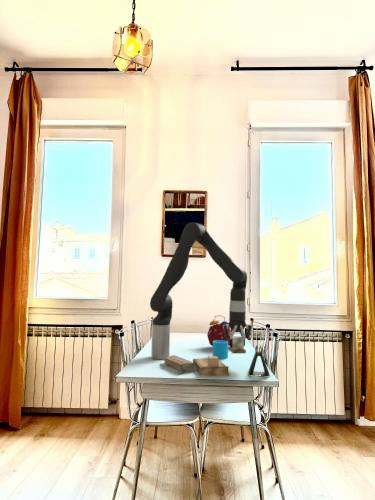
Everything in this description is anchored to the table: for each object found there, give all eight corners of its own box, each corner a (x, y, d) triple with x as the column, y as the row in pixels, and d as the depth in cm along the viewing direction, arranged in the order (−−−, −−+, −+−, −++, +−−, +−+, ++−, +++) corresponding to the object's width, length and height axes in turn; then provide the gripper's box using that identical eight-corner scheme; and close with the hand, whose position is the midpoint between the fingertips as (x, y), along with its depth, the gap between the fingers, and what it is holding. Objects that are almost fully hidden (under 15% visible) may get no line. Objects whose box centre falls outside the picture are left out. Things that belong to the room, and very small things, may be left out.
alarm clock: (232, 349, 201) (232, 315, 202) (223, 351, 194) (223, 316, 196) (213, 345, 211) (213, 313, 213) (204, 347, 204) (204, 314, 206)
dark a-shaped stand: (268, 373, 150) (268, 345, 151) (269, 376, 144) (269, 348, 146) (248, 371, 152) (248, 344, 153) (248, 375, 146) (248, 347, 147)
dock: (201, 376, 144) (201, 367, 144) (192, 365, 162) (192, 357, 163) (228, 375, 146) (228, 366, 146) (216, 364, 164) (216, 356, 165)
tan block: (233, 353, 152) (233, 338, 153) (227, 349, 160) (228, 335, 161) (245, 353, 153) (245, 338, 154) (239, 349, 161) (240, 335, 162)
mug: (226, 359, 175) (226, 343, 176) (211, 358, 178) (211, 342, 178) (230, 354, 187) (230, 339, 188) (215, 353, 189) (215, 338, 190)
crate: (209, 367, 146) (209, 358, 146) (207, 365, 150) (207, 356, 150) (218, 367, 147) (218, 358, 147) (216, 365, 151) (216, 356, 151)
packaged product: (198, 361, 152) (179, 364, 146) (197, 372, 151) (178, 375, 146) (177, 353, 167) (160, 355, 162) (177, 363, 166) (159, 366, 161)
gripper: (225, 311, 153) (224, 348, 152) (254, 311, 156) (254, 348, 155) (220, 309, 161) (219, 345, 159) (249, 309, 163) (248, 345, 162)
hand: (236, 346), depth 157 cm, fingers closed on tan block, 5 cm apart
